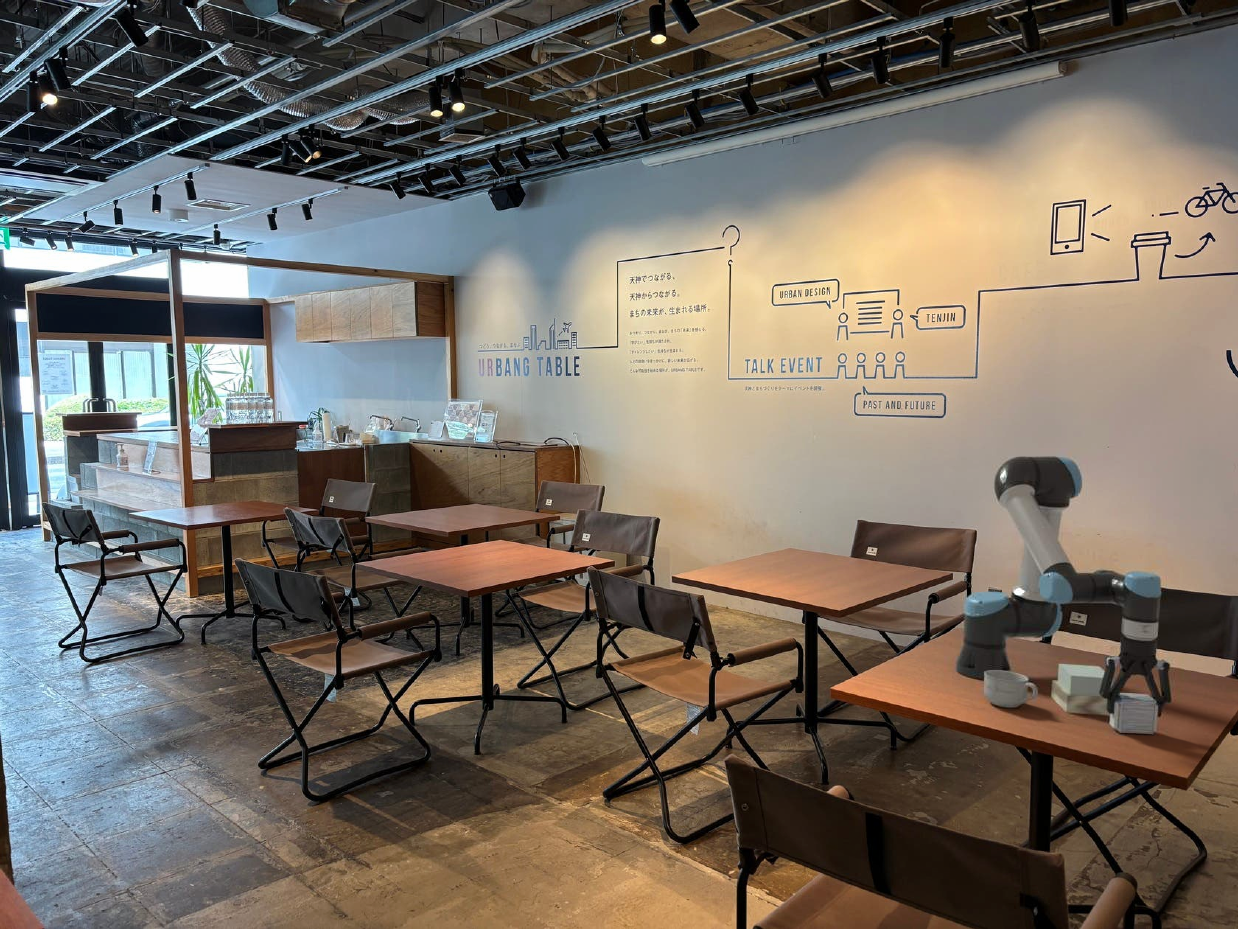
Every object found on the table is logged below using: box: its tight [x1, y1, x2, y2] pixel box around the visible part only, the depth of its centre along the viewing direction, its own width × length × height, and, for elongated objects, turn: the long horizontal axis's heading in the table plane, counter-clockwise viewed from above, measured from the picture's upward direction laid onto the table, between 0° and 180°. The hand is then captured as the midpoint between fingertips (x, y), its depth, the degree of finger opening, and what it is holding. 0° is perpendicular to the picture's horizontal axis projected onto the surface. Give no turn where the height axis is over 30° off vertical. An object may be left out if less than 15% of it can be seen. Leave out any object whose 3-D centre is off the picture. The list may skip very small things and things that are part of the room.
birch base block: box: [1050, 679, 1110, 716], centre depth 230 cm, size 12×12×5 cm
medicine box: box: [1114, 692, 1156, 735], centre depth 212 cm, size 8×4×9 cm, turn 84°
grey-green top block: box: [1057, 663, 1114, 697], centre depth 229 cm, size 10×10×5 cm
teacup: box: [983, 670, 1039, 709], centre depth 229 cm, size 14×11×8 cm
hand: (1132, 727), depth 212 cm, fingers closed on medicine box, 8 cm apart
